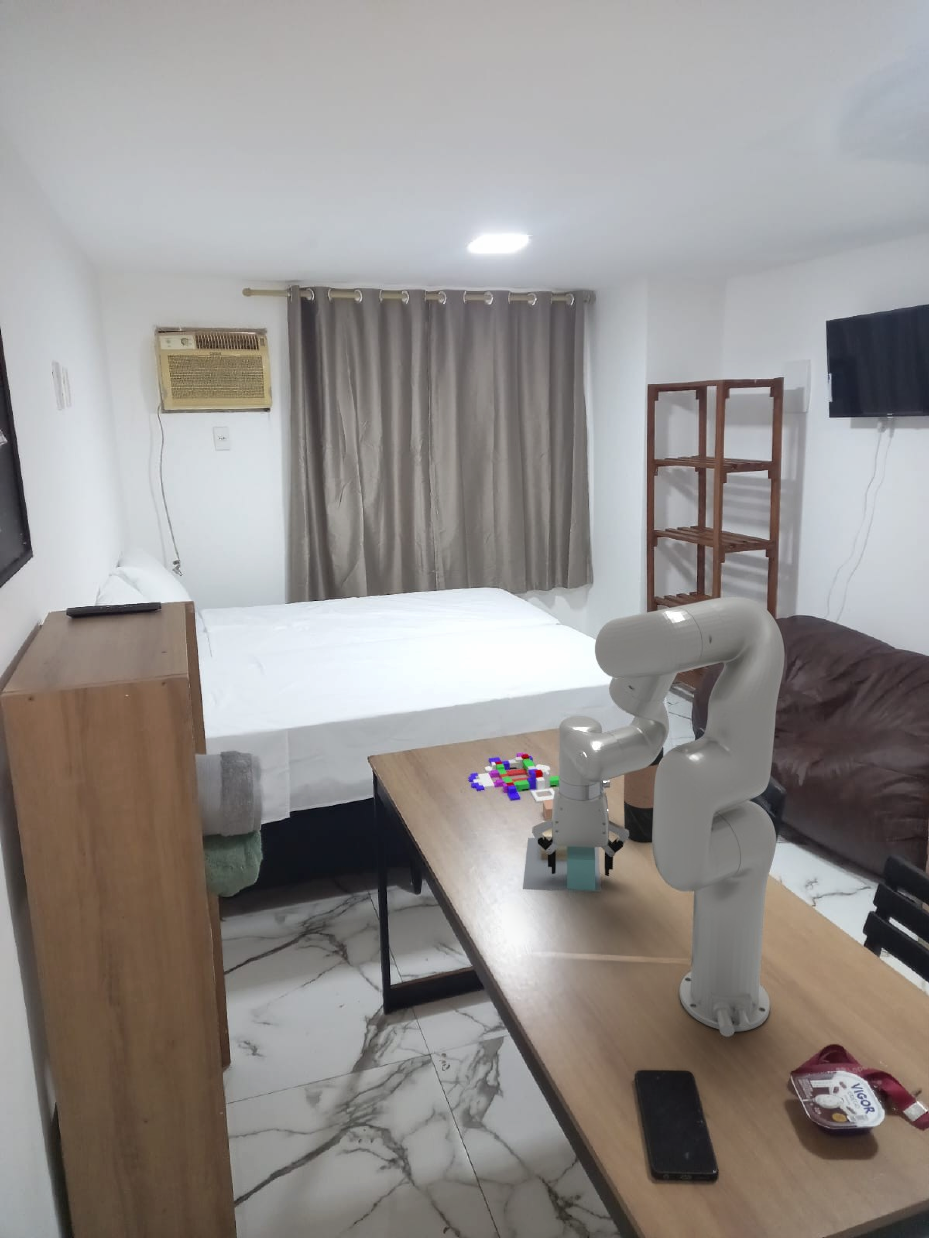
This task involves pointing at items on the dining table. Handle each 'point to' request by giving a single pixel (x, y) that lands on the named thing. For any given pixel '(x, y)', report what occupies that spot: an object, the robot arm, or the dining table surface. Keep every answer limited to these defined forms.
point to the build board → (550, 871)
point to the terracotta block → (547, 809)
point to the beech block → (560, 851)
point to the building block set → (535, 779)
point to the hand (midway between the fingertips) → (580, 870)
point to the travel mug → (640, 801)
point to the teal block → (581, 868)
